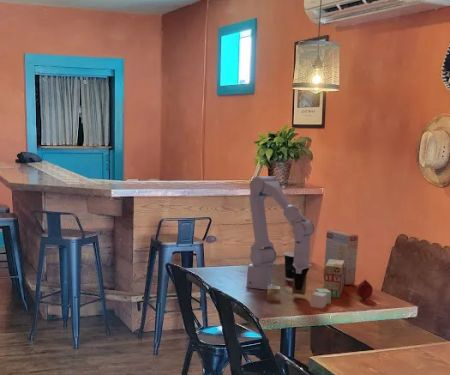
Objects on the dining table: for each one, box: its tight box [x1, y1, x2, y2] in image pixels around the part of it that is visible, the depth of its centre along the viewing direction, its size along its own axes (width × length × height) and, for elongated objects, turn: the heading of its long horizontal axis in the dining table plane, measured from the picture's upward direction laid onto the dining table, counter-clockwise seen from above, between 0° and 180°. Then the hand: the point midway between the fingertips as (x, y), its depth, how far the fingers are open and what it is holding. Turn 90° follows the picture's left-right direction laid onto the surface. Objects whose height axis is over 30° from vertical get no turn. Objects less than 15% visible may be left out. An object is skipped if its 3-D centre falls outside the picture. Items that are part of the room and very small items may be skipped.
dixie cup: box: [283, 251, 294, 282], centre depth 259 cm, size 8×8×11 cm
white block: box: [309, 291, 327, 309], centre depth 223 cm, size 4×4×4 cm
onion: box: [356, 278, 373, 301], centre depth 234 cm, size 6×6×8 cm
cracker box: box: [323, 229, 359, 286], centre depth 259 cm, size 14×6×21 cm, turn 30°
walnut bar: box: [292, 275, 308, 296], centre depth 231 cm, size 4×4×6 cm
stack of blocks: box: [323, 259, 345, 299], centre depth 245 cm, size 21×6×12 cm, turn 164°
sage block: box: [314, 288, 332, 305], centre depth 228 cm, size 4×4×4 cm
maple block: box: [266, 285, 281, 302], centre depth 229 cm, size 4×4×4 cm
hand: (299, 288), depth 231 cm, fingers closed on walnut bar, 4 cm apart
